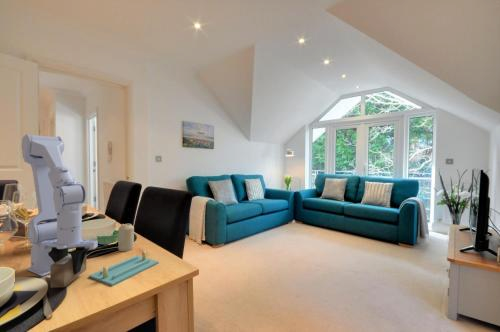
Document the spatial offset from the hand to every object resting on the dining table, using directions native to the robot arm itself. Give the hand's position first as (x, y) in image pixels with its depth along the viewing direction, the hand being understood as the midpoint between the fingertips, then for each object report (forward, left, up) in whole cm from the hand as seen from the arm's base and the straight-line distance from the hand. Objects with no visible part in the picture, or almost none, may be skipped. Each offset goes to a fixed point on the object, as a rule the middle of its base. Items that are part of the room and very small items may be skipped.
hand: (69, 272), depth 70 cm
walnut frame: (0, 0, -2) cm, 2 cm away
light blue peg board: (+7, +13, -3) cm, 15 cm away
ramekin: (-21, +26, -3) cm, 33 cm away
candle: (-9, +25, -3) cm, 27 cm away
